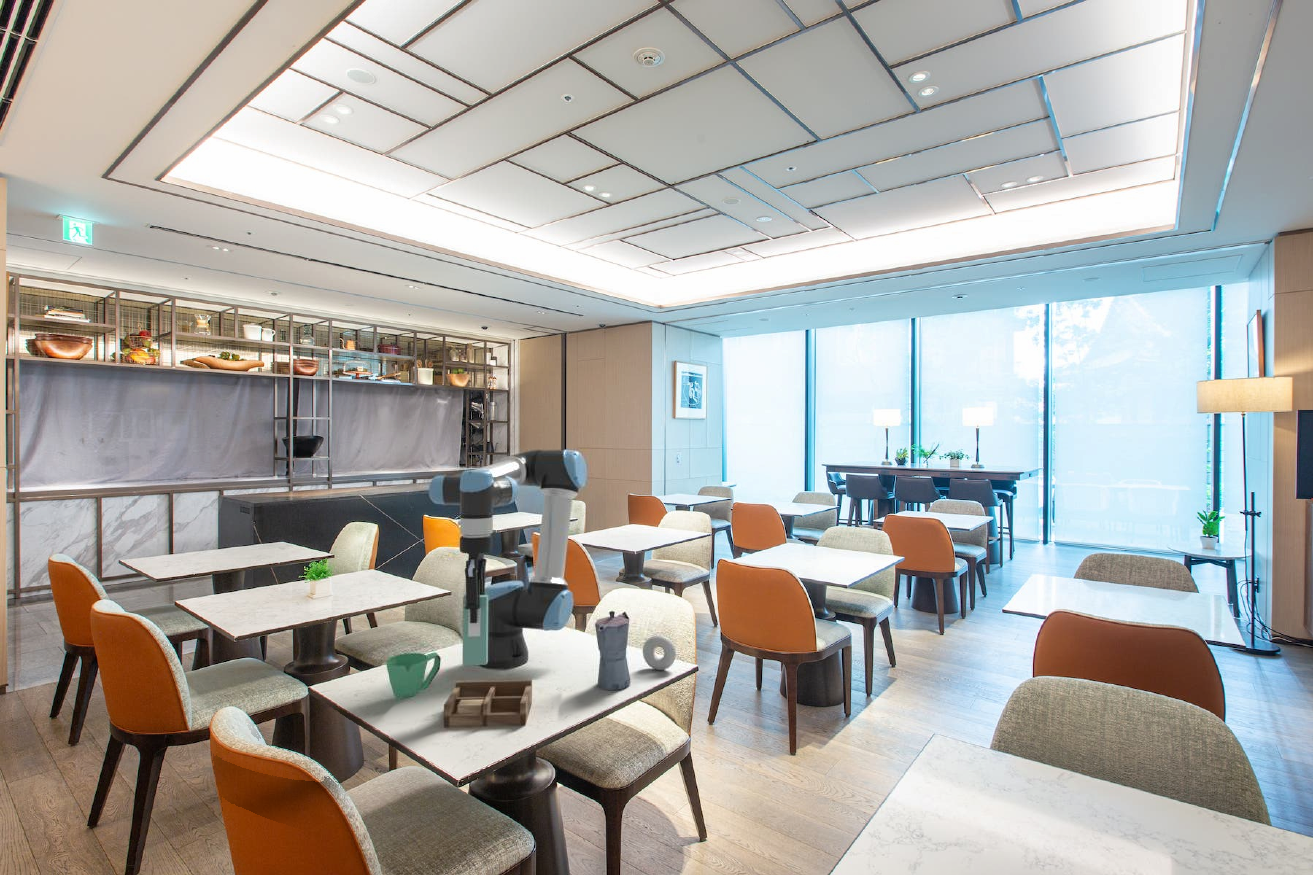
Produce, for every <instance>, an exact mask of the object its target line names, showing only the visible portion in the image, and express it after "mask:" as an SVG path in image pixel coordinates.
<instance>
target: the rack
mask: <svg viewBox="0 0 1313 875" xmlns="http://www.w3.org/2000/svg"><path fill="white" fill-rule="evenodd" d="M461 700H484V702H483V713H464V714H455V713H456V711H457V709H458V704H459V702H460V701H461ZM532 701H533V679H530V678H529V679H490V680H489V679H488V680H485V679H484V680H483V679H482V680H481V679H479V680H477V679H476V680H456V681H455V687H454V689H453V690H452V692H451V693H450V694H449V696H448V697H447V699H446V701H445V703H444V704H443V728H444V729H447V728H479V727H480V728H483V727H484V728H485V727H487V728H488V727H489V728H490V727H519V726H520V727H521V726H522V727H526V724H527V722H528V718H529V715H530V713H531V712H530V711H531V709H532V705H533V702H532Z"/></svg>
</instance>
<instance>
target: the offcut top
mask: <svg viewBox="0 0 1313 875" xmlns="http://www.w3.org/2000/svg"><path fill="white" fill-rule="evenodd" d="M483 702H484V700H461V701H460V702H459V704H458V714H464V713H482V711H483Z"/></svg>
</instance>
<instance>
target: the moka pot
mask: <svg viewBox="0 0 1313 875" xmlns="http://www.w3.org/2000/svg"><path fill="white" fill-rule="evenodd" d="M608 614H609V616H606V617H602V618H599V619H597V620H596V621H595V623H594V627H595V633H596V639H597V640H596V641H597V648H598V651H599V657H600V658H599V664H598V665H599V667H598V676H597V677H598V678H597V684H598V685H597V686H598V688H600V689H603V690H605V691H617V690H619V689H620V690H622V689H623V690H624V689H625V688H628V687H629V686H630V684H631V676H630V670H629V665H628V658H627V647H628V639H629V627H630V617H629V616H628V614H627V611H624V612H622V613H620V614H619V615H617V616H615V611H614V610H611V611H609V612H608ZM620 690H619V691H620Z"/></svg>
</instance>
